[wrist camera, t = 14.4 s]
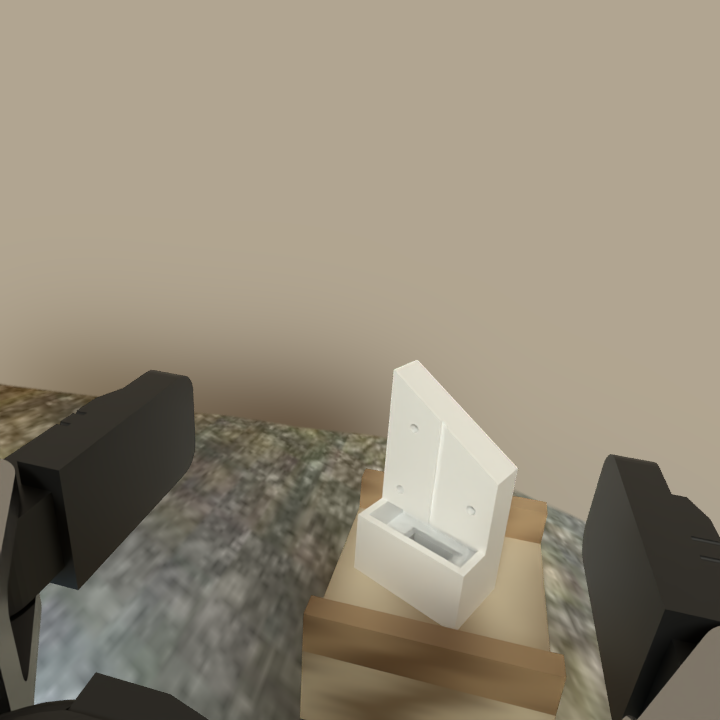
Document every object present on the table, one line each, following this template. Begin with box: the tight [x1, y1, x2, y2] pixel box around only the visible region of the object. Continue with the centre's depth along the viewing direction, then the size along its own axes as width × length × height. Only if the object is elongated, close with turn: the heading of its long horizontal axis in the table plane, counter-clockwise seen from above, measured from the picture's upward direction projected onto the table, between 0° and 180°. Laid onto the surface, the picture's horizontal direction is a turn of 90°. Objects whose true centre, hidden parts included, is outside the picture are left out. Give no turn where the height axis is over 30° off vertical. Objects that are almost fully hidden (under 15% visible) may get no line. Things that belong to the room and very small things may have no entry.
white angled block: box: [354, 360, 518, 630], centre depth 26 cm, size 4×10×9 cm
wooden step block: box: [300, 469, 566, 720], centre depth 27 cm, size 10×11×6 cm
